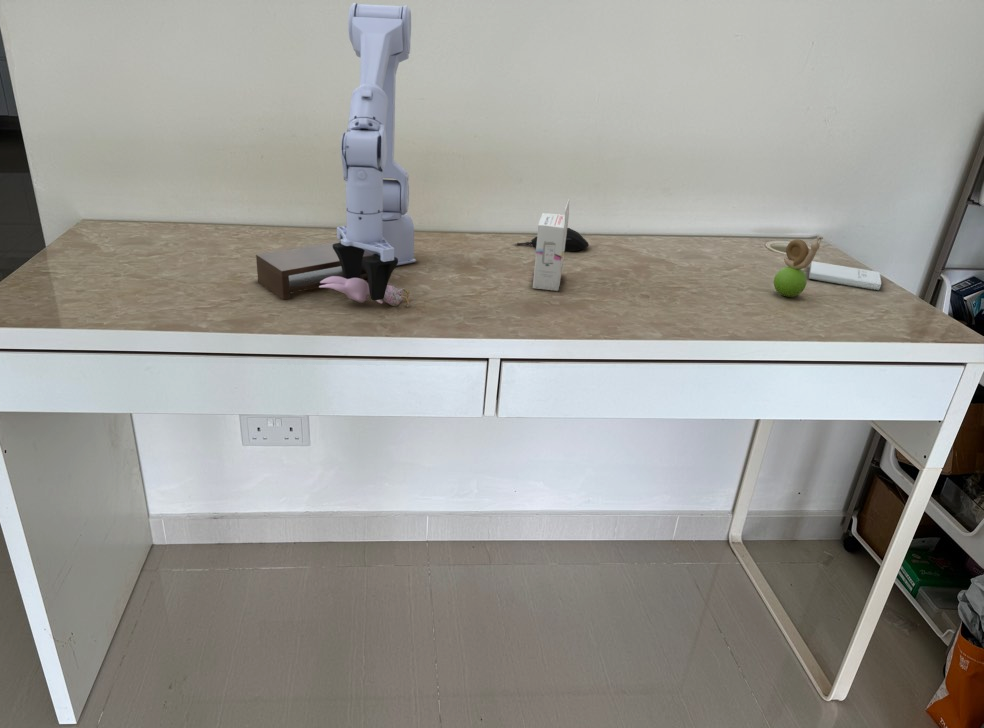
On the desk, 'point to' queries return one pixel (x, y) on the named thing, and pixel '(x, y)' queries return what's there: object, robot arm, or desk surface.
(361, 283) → the rabbit figure
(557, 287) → the ink cartridge box
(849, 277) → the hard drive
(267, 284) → the rack
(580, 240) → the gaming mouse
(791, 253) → the snail figurine
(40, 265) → the desk surface
